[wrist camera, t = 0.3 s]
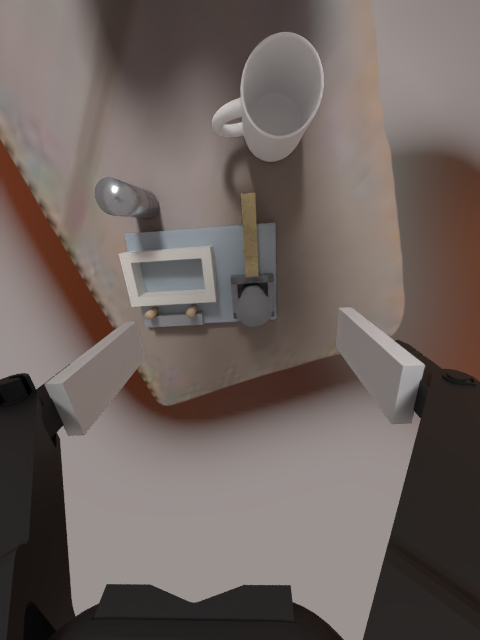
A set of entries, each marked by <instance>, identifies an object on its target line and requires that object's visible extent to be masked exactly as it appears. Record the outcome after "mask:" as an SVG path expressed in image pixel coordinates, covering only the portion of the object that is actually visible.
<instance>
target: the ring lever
mask: <svg viewBox="0 0 480 640" xmlns="http://www.w3.org/2000/svg"><path fill="white" fill-rule="evenodd" d="M241 208H242V225H243V241H244V258H245V275H231V278H230V281H231V293H232V305H233V317H234V319H238V318H237V315H236V304H237V301H238V299H239V291H238V284H248V283H265V282H267V297H268V298H269V300H270V302H271V305H272V314H271V317H275V305H274V275H273V273H261V274H258V251H257V226H256V201H255V193H242V194H241Z"/></svg>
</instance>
